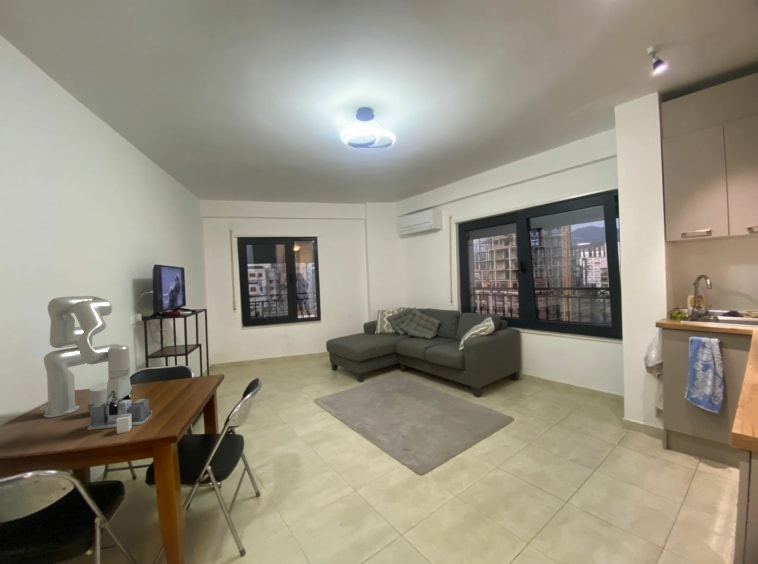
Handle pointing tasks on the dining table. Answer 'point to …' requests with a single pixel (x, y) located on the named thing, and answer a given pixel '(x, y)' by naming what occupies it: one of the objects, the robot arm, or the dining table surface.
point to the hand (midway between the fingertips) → (120, 410)
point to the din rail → (101, 421)
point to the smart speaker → (97, 394)
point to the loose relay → (124, 423)
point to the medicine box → (120, 410)
